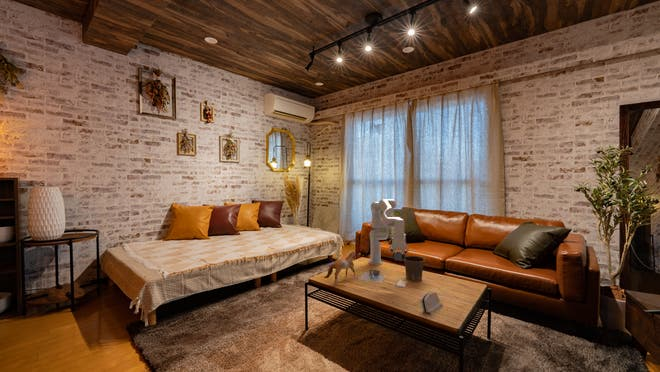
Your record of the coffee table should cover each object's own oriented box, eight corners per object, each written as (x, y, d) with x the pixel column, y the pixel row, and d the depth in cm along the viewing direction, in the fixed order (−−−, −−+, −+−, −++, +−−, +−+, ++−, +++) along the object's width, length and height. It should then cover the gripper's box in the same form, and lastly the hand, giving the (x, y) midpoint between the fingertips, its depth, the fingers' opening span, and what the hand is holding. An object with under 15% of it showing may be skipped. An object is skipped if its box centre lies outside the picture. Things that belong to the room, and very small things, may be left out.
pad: (392, 280, 214) (392, 279, 214) (407, 282, 209) (407, 281, 209) (389, 285, 204) (389, 284, 204) (404, 287, 199) (404, 286, 199)
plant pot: (404, 281, 211) (404, 261, 210) (402, 274, 227) (402, 255, 226) (426, 283, 208) (426, 262, 207) (422, 275, 224) (422, 256, 223)
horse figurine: (354, 275, 224) (354, 250, 223) (360, 278, 217) (360, 253, 217) (323, 284, 205) (323, 257, 205) (329, 287, 199) (329, 260, 198)
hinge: (430, 315, 160) (425, 297, 162) (423, 314, 163) (418, 297, 165) (443, 305, 172) (438, 289, 174) (436, 305, 175) (431, 289, 177)
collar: (395, 257, 210) (395, 251, 210) (403, 258, 207) (403, 252, 207) (393, 260, 204) (394, 253, 204) (402, 261, 202) (402, 254, 202)
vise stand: (364, 273, 228) (364, 266, 228) (385, 276, 221) (385, 269, 220) (357, 281, 212) (357, 273, 212) (380, 285, 204) (380, 277, 204)
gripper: (411, 235, 205) (411, 258, 206) (388, 233, 212) (388, 256, 213) (410, 237, 198) (409, 261, 199) (386, 235, 205) (386, 258, 206)
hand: (398, 258), depth 206 cm, fingers closed on collar, 6 cm apart
